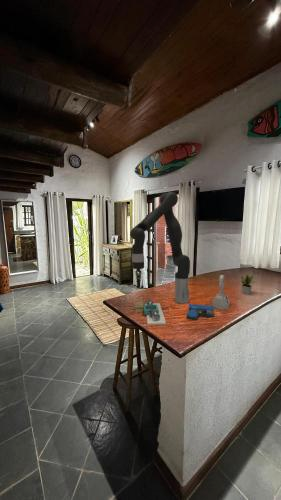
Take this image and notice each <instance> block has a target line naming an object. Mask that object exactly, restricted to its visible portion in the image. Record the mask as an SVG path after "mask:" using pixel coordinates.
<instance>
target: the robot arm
mask: <svg viewBox="0 0 281 500" xmlns="http://www.w3.org/2000/svg"><path fill="white" fill-rule="evenodd" d="M178 201H179V197H178V194H177V193H176V192H173V191H168V192H166V193H163V194H161V195H160V197H159V204H158V206H157V207H156V208H154V209H153V210H152V211H150V212H149V213H148V214H147V215H146V216H145V217H144V218H143V219H142V220H141V222H139V223H138V224H136V225H135V226H134V227H133V228H132V229H131V230H130V232H129V236H130V238H131V239H132V240H134V241H133V242H134V243H133V244H132V245H131V268H132V269H133V270H134V271H135V272H134V273H135V274H134V275H135V280H136V289H141V287H142V286H141V284H142V283H141V282H142V274H143V273H142V270H143V269H145V254H144V253H145V251H144V249H145V248H144V245H145V240H146V233H145V232H146V231H149V230H150V229H151V228H152V227H153V226H154V225H155V224H156V223H157V222H158V221H159V220H160V219H161V218H162V216H163V217H164V221H165V225H166V231H167V236H168V239H169V243H170V244H169V245H170V248H171V255H172V263H173V264H174V266H175V267H177V271H176V272H175V273H174V302H175V303H178V304H189V303H190V289H189V275H190V273H191V272H190V271H191V259H190V257H189V256H188V255H185V254H183V250H182V242H183V241H182V240H183V231H182V226H181V223H180V222H179V220H178V219H177V218H176V216H175V214H174V211H173V208H174V207H175V206H176V204H177V203H178Z"/></svg>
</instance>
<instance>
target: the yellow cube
mask: <svg viewBox="0 0 281 500" xmlns="http://www.w3.org/2000/svg"><path fill="white" fill-rule="evenodd" d="M134 306H135V313H144V301H135V302H134Z"/></svg>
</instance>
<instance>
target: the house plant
mask: <svg viewBox="0 0 281 500" xmlns="http://www.w3.org/2000/svg"><path fill="white" fill-rule="evenodd" d="M238 274H239V276H240V278H241V280H239V283H242V284H241V290H242V294H243V295H247V296H249V295H251V292H252V288H253V285H252V284H254V283H257V281H253V280H255V278H256V275H255V274H253V275H252V276H250V274H249V272H247V273H245V278H244V276H242V274H240V273H238Z"/></svg>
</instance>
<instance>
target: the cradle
mask: <svg viewBox="0 0 281 500" xmlns="http://www.w3.org/2000/svg"><path fill="white" fill-rule="evenodd" d="M143 308H144V309H143V315H144V316H146V315H149V310H150V309H153V310H155V311H156V312H157V313H158V314H159V310H158V306H157V305H145V304H143Z"/></svg>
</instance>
